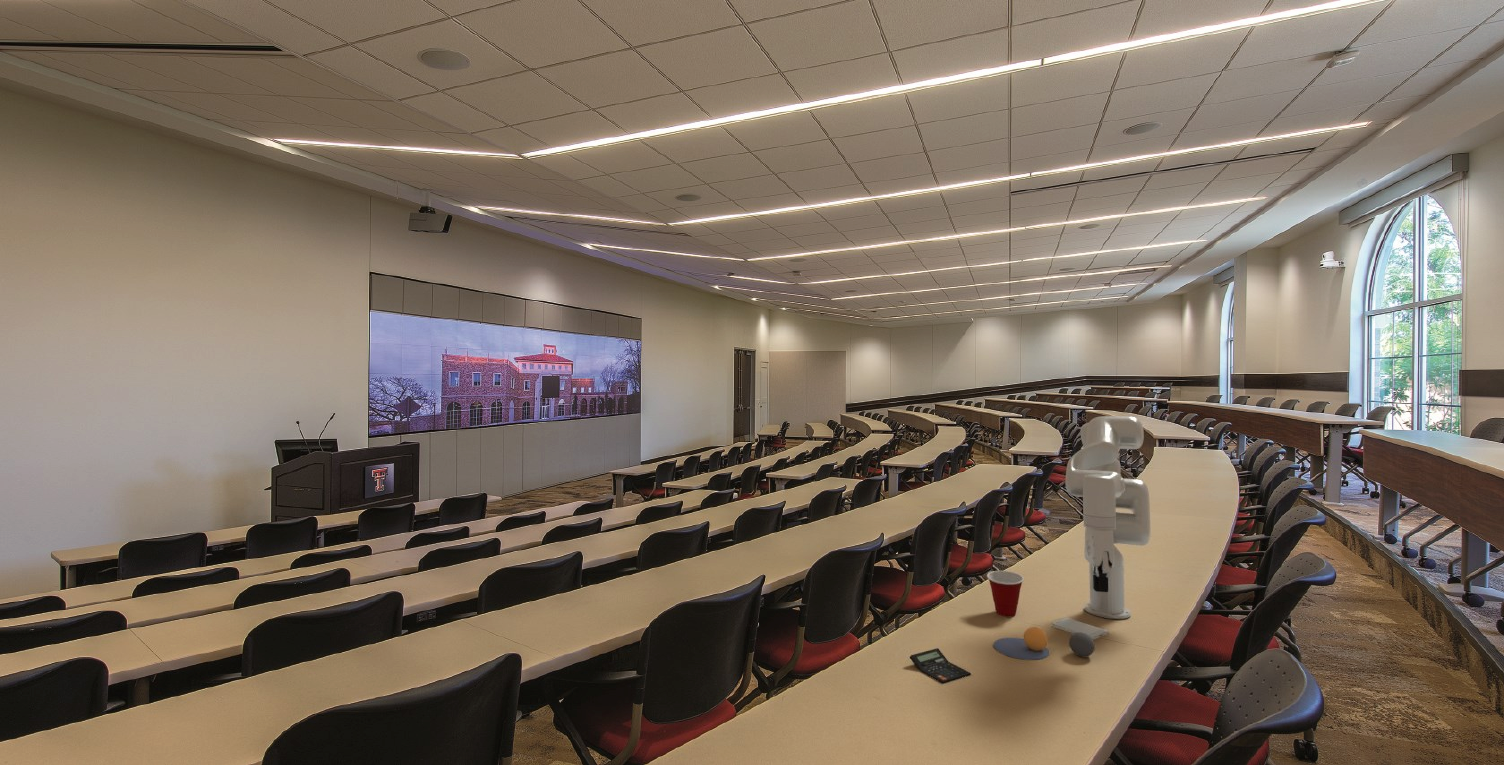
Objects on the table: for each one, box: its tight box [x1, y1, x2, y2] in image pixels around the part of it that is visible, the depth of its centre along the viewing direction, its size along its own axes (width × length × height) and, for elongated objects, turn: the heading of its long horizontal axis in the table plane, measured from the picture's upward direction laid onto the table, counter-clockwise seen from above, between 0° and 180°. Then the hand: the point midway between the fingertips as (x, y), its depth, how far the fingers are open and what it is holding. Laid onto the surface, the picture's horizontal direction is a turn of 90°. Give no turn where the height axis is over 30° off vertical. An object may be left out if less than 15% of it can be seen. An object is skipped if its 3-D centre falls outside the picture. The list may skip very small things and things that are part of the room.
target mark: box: [993, 637, 1050, 661], centre depth 169 cm, size 14×14×1 cm
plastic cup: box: [986, 570, 1025, 617], centre depth 195 cm, size 11×11×12 cm
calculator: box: [909, 647, 972, 684], centre depth 157 cm, size 9×12×3 cm
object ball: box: [1023, 626, 1049, 651], centre depth 168 cm, size 6×6×6 cm
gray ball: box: [1068, 632, 1096, 658], centre depth 164 cm, size 6×6×6 cm
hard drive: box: [1051, 617, 1110, 641], centre depth 182 cm, size 2×8×12 cm
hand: (1100, 590), depth 164 cm, fingers closed
